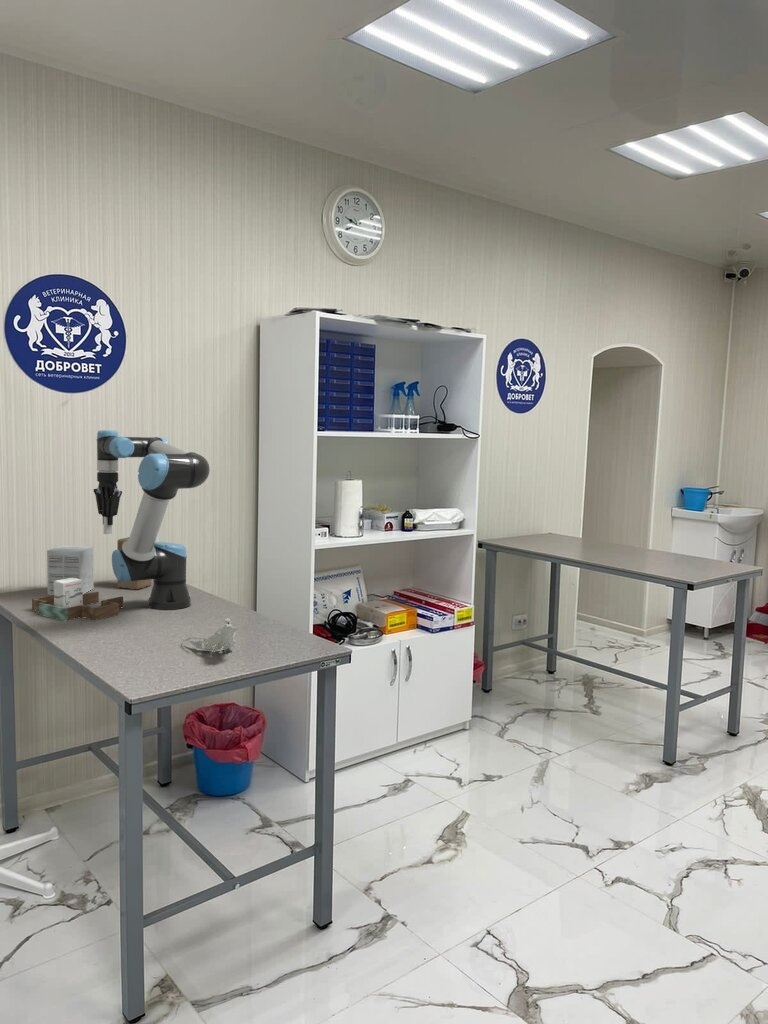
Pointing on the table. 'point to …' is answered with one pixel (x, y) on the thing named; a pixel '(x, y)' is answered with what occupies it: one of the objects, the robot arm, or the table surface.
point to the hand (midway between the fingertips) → (107, 533)
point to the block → (135, 583)
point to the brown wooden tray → (78, 607)
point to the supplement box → (70, 565)
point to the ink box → (68, 592)
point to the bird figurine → (217, 639)
